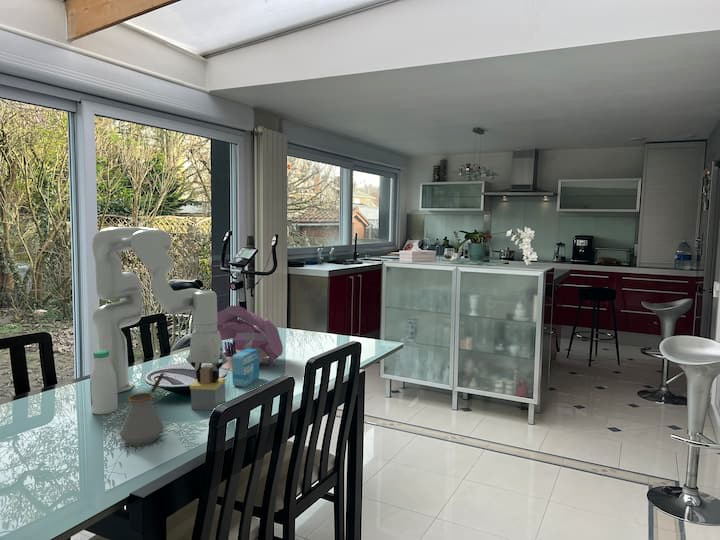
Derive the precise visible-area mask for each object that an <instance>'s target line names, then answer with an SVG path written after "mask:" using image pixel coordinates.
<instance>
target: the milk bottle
mask: <svg viewBox="0 0 720 540" xmlns="http://www.w3.org/2000/svg"><path fill="white" fill-rule="evenodd" d="M109 355H110V353H109V351H108V350H99V351H98V350H96V351H94V352H93V360H94V364H93V368H92V369H91V372H90V374H89V375H90V376H89V387H90V403H91V406H90V407H91V412H92V414H94V415H106V414H111V413H114V412H116V411H117V410H118V407H119V404H118V393H117V384H116V374H115V371H114V369H113V367H112V365H111V364H110V361H109V357H110V356H109Z"/></svg>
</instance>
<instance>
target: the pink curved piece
mask: <svg viewBox="0 0 720 540" xmlns="http://www.w3.org/2000/svg"><path fill="white" fill-rule="evenodd" d="M239 318H240V319H239ZM217 320H218V331H220V335H221V339H222V341H223V340H224V346H223V348H224V351H223V353H224V354H225V356H226V357H227V358H228V362H226V363H225V364H224V365H223V366H224V367H226V368H227V369H226V370H228V371H232V357H233V355H235V354H237V353H239V352H241V351H243V350H245V349H247V348H248V349H257V350H258V351H259V364H260V363H262V362H263V361H264V360H265V359H266V358H267V357H268V360H267V361H266V363H267V364H268V365H270V366H272V367H273V366H274V365H275V360H276V359H278V358H279V357H281V356H282V354H283V352H284V346H283V343H282V340H281V335H280V333H279V329H278V328H277V326H276V325H275V324H274V323H273V322H272V321H271V320H270V319H269V318H266V319H263V318H262V317H261V316H260V315H257V314H256V313H254V312H253V311H249V310H247V309H246V308H245V307H242V306H239V305H229V306H227V307H225V308H224V309H223V310H220V311H217ZM231 339H232V340H231ZM226 340H231V341H232V342H230V341H226Z"/></svg>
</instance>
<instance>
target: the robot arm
mask: <svg viewBox="0 0 720 540" xmlns="http://www.w3.org/2000/svg"><path fill="white" fill-rule="evenodd" d="M91 243H92V252H93V257H94V261H95V281H96V282H95V283H96V294H97V297H98V298H99V299H100V300H102V301H105V302H106V301H115V300H120V301H117V302H112V303H106V304H102V305H101V306H99V307H97V308H96V309H95V310H94V312H93V315H92V320H93V325H94V328H95V334H96V339H97V340H96V341H97V351H99V350H108V351H109V353H110V355H109V356H110V357H109V361H110V364H111V365H112V367H113V369H114V371H115V374H116V384H117V394H119V393H122V392H126V391H128V390H131V389H133V387H134V382H133V381H132V380H130V377H129V361H128V360H129V359H128V345H127V344H128V343H127V337H126V336H125V334H124V332H123V331H122V329H123V328H126V327H129V326H132V325H135V324H138V322H140V320H141V318H142V316H143V295H142V293H143V290H142V282H141V280H140V277H139V276H138V275H137V274H136V273H134V272H132V271H123V263H122V260H121V258H120V255H119V254H118V253H117V252H127V251H128V252H129V251H134V254H136V256H137V257H138V259H139V260H140V261H141V263H142V264H143V265H144V267H145V268H146V269H147V271H148V272H149V274H150V276H151V279H150V285H151V286H150V287H151V292H152V294H153V297H154V299H155V301H157V302H158V304H159V306H160V307H161V308H162V309H163V310H164V312H166V313H167V314H170V315H180V314H183V313H187V312H191V311H192V313H193V323H190V326H189V328H190V329H193V331H192V332H191V336H190V343H189V354H188V355H187V357H186V358H185V360H186V362H187V363H189V364H190V365H191V366H192V367H193V368H194V370H195V375H196V380H197V381H198V382H200V369H201V368H203V367H202V365H203V364H211V365H213V369H214V371H212V379H213V383H215V382H216V381H218V379H219V378H220V369H221V368H222V365H224V364H225V363H226V362H228V358H227V357H226V356H225V354H224V349H223V348H224V346H223V340H222V339H221V335H220V331H218V320H217V312H218V296H217V293H216V292H215V291H214V290H202V289H198V288H195V287H194V288H193V287H190V288H185V289H180V290H174V289H173V288H172V287H171V285H170V284H169V282H168V279H167V278H166V277H167V274H168V273H170V271H171V270H172V269H173V268H174V265H175V261H174V259H173V258H172V257H171V255H170V254H169V253H168V251H169V250H170V249H171V247H172V238H171V236H170V235H169V233H167V231H165V230H163V229H158V228H151V227H144V226H115V227H114V226H112V227H106V228H103V229H101V230H99V231H97V232H96V233H95V234H94V236H93V238H92V242H91Z"/></svg>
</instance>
